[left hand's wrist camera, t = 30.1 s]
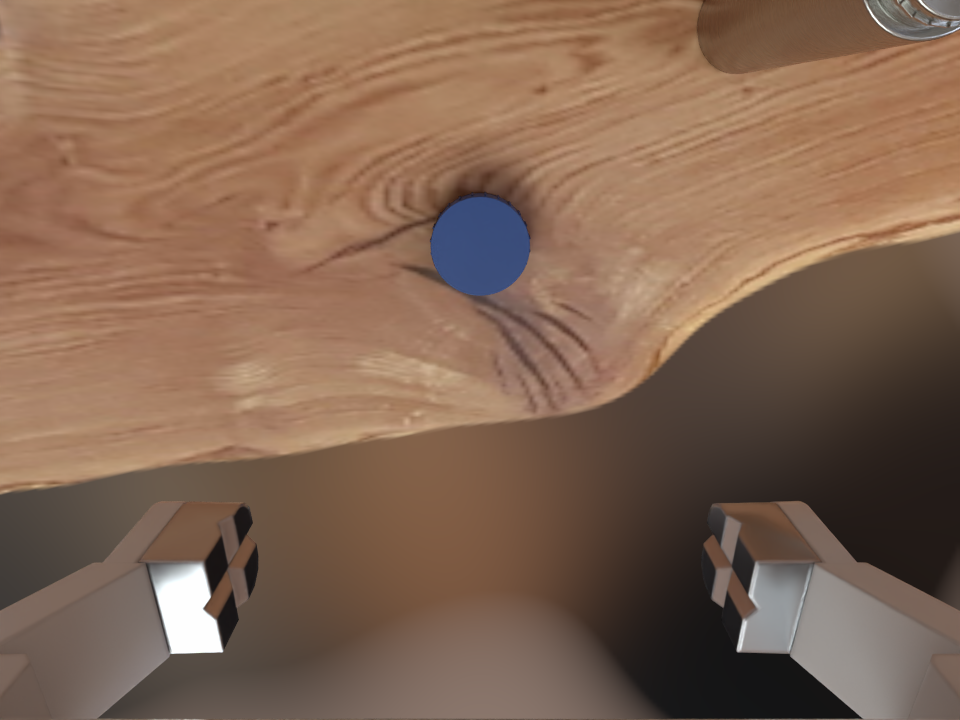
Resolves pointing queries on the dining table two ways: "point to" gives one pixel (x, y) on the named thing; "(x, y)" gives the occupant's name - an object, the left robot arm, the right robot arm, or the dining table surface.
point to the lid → (480, 244)
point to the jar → (815, 29)
